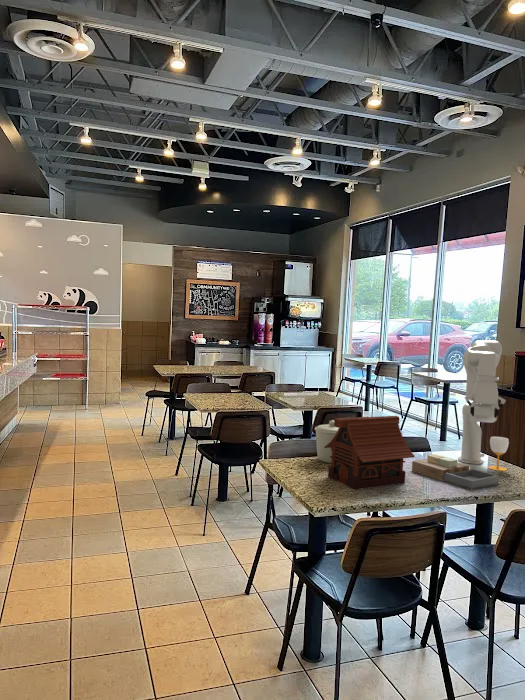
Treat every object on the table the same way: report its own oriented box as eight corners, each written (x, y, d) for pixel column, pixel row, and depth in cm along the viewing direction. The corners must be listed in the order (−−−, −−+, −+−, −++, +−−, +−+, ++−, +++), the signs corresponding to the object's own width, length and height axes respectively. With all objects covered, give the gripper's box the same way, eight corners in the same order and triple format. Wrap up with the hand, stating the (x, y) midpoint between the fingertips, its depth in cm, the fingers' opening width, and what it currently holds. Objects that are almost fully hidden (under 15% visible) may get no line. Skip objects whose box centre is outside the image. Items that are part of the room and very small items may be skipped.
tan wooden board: (438, 466, 267) (438, 457, 267) (468, 475, 252) (469, 465, 252) (411, 470, 256) (412, 460, 256) (442, 480, 241) (442, 470, 241)
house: (373, 469, 257) (376, 410, 256) (415, 485, 232) (419, 421, 231) (315, 475, 240) (318, 413, 239) (353, 494, 215) (357, 424, 214)
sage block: (446, 463, 255) (446, 457, 255) (456, 466, 250) (457, 459, 250) (438, 464, 252) (438, 458, 251) (448, 467, 247) (449, 461, 246)
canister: (342, 467, 257) (344, 425, 256) (308, 461, 265) (310, 420, 264) (352, 459, 273) (354, 420, 273) (319, 454, 281) (321, 416, 280)
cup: (503, 467, 273) (505, 436, 272) (509, 471, 264) (511, 440, 263) (485, 465, 274) (487, 435, 273) (491, 470, 265) (493, 439, 264)
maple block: (435, 460, 260) (435, 454, 260) (445, 462, 255) (445, 456, 255) (427, 461, 257) (427, 455, 257) (437, 464, 252) (437, 458, 252)
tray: (469, 476, 252) (470, 467, 252) (498, 484, 239) (498, 475, 239) (443, 481, 241) (443, 472, 241) (471, 490, 228) (472, 481, 228)
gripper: (505, 380, 238) (503, 417, 239) (465, 377, 243) (463, 413, 244) (508, 381, 231) (505, 419, 232) (466, 378, 236) (464, 416, 237)
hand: (483, 416), depth 238 cm, fingers open, 9 cm apart
